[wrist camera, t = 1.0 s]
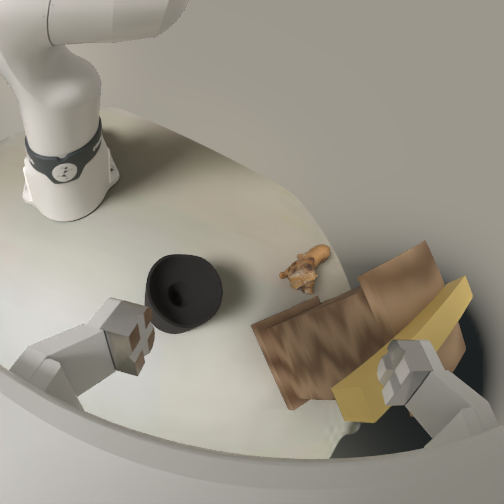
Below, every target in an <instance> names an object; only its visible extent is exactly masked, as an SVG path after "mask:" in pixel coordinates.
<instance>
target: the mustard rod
mask: <svg viewBox="0 0 504 504" xmlns="http://www.w3.org/2000/svg"><path fill="white" fill-rule="evenodd" d="M472 297H473V295H472V292H471V289H470V287H469V284H468V281H467V279H466V276H463V277H461V278H459V279H457V280H454V281H452V282H450V283H447V284H446V286H445V287H444V288H443V289H442V290H441V291H440V292H439V293H438V294H437V295H436V297H435V298H434V299H433V300H432V301H431V302H430V303H429V304H428V305H427V306H426V307H425V308H424V309H423V310H422V311H421V312H420V313H419V314H418V315H417V316H416V317H415V318H414V319H413V320H412V321H411V322H410V323H409V324H408V325H407V326H406V327H405V328H404V329H403V330H401V331H400V332H399V333H398V334H397V335H396V336H395V337H394V338H393V339H399V340H429V341H430V342H431V344H432V346H433V348H434V350H435V351H436V352H437V351H438V349H439V348H440V347H441V345H442V344H443V343H444V341H445V340H446V338H447V337H448V335H449V334H450V332H451V331H452V330H453V328H454V327H455V325H456V323H457V322H458V320H459V319H460V317H461V316H462V314H463V312H464V311H465V309H466V308H467V306H468V304H469V303H470V301H471V299H472ZM393 339H392V340H393ZM392 340H390V341H389V342H388V343H387V344H386V345H385V346H384V347H383V348H381V349H380V350H379V351H378V352H377V353H376V354H374V355H373V356H372V357H371V358H370V359H368V360H367V361H366V362H365V363H363V364H362V365H361V366H360V367H358V368H357V369H356V370H355V371H353V372H352V373H351V374H350V375H348V376H347V377H346V378H344V379H343V380H342V381H340V382H339V383H338V384H336V385H335V386H333V387H332V388H331V390H332V392H333V394H334V397H335V399H336V401H337V404H338V406H339V409H340V411H341V413H342V416H343V418H344V421H352V422H369V423H375V422H376V421H377V420H378V419H379V418H380V417H381V416H382V415H383V414H384V413H385V412H386V411H387V410H388V409H389V408H390V407H391V406H392V405H390V406H386V405H385V402H384V398H383V394H382V389H383V387H384V386H383V385H382V384H381V383H380V382H379V380H378V376H377V369H378V364H379V362H380V360H381V358H382V356H384V355H385V354H386V353H388V350H387V347H388V345H389V343H390V342H391V341H392Z"/></svg>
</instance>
